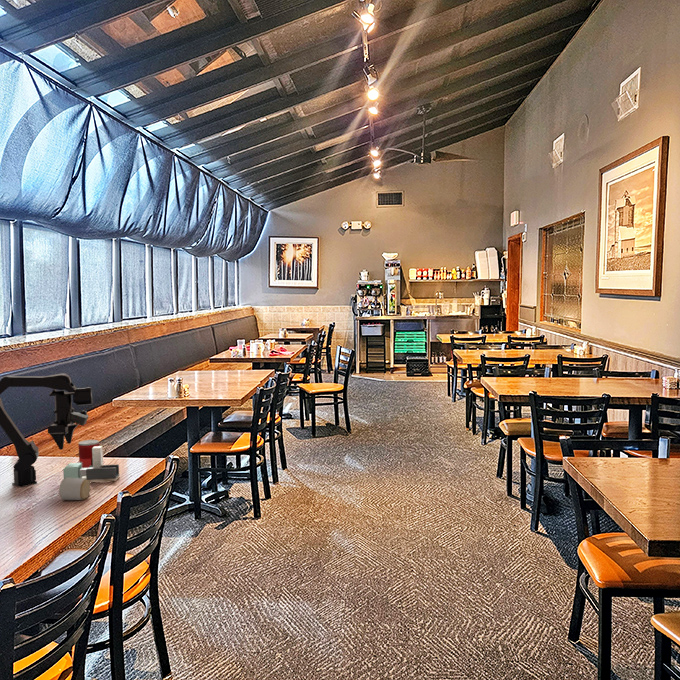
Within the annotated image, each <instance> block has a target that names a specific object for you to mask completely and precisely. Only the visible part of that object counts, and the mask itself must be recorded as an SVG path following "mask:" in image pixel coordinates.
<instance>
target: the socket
mask: <svg viewBox="0 0 680 680" xmlns="http://www.w3.org/2000/svg"><path fill="white" fill-rule="evenodd" d="M78 468H82V463H79V462H70V463H68V464H67V465H66V466H65V467H64V468H63V473H62V474H63V479H64V478H66V477H69V478H81V477H78Z"/></svg>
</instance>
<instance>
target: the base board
mask: <svg viewBox="0 0 680 680" xmlns="http://www.w3.org/2000/svg"><path fill="white" fill-rule="evenodd" d="M119 476H120V474H119ZM119 476H118V477H117V478H116V479H99V480H88V481H89V482H100V483H108V482H107V481H116V480H117V479H118V480H119V478H120V477H119ZM81 479H86V476H82V477H81ZM118 480H117V481H118ZM117 481H116V482H117Z"/></svg>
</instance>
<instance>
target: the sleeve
mask: <svg viewBox="0 0 680 680" xmlns="http://www.w3.org/2000/svg"><path fill="white" fill-rule="evenodd" d="M89 467H93V466H89ZM119 475H120V464H103V468H94V469H86V480H99V479H116V478H117V477H118V476H119Z"/></svg>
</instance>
